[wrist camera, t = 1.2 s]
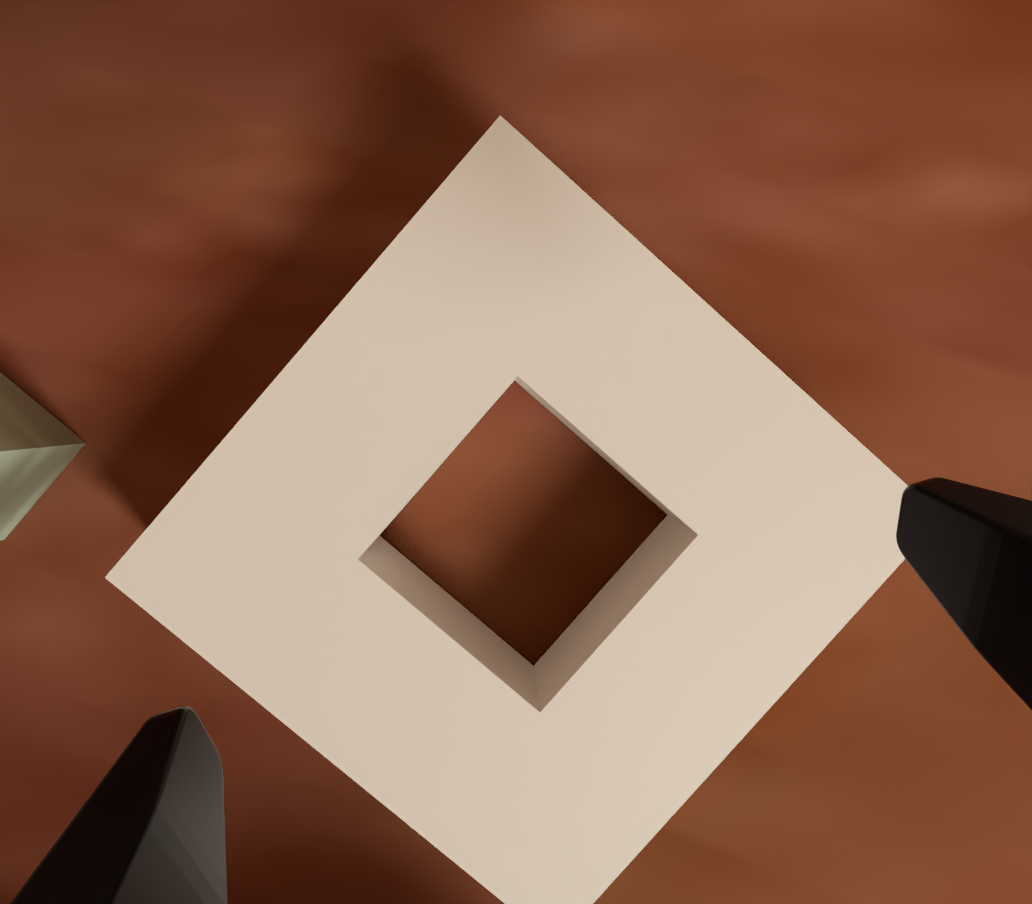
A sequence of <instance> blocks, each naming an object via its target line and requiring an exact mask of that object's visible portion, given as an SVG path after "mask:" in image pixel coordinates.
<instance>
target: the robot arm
mask: <svg viewBox="0 0 1032 904" xmlns="http://www.w3.org/2000/svg"><path fill="white" fill-rule="evenodd" d="M896 540H897V544H898V547H899V549H900V551H901V553H902V555H903V556H904V557H905V559H906V560H907V561H908V563H909V564H910V565H911V567H912V568H913V569H914V570H915V572H916V573H917V574H918V576H919V577H920V578H921V580H922V581H923V582H924V583H925V585H926V586H927V587H928V589H929V590H930V591H931V593H932V594H933V595H934V596H935V598H936V599H937V600H938V602H939V603H940V604H941V606H942V607H943V608H944V610H945V611H946V612H947V613H948V615H949V616H950V617H951V619H952V620H953V621H954V623H955V624H956V625H957V626H958V628H959V629H960V630H961V632H962V633H963V634H964V635H965V637H966V638H967V639H968V640H969V642H970V643H971V644H972V645H973V647H974V648H975V649H976V650H977V651H978V652H979V653H980V655H981V656H982V657H983V658H984V659H985V660H986V661H987V662H988V664H989V665H990V666H991V667H992V668H993V669H994V670H995V671H996V672H997V673H998V674H999V675H1000V677H1001V678H1002V679H1003V680H1004V681H1005V682H1006V683H1007V684H1008V685H1009V686H1010V687H1011V688H1012V689H1013V690H1014V692H1015V693H1016V694H1017V695H1018V696H1019V697H1020V698H1021V699H1022V700H1023V701H1024V702H1025V703H1026V704H1027V706H1028V707H1029V708H1030V709H1031V710H1032V501H1030V500H1026V499H1022V498H1019V497H1015V496H1011V495H1007V494H1003V493H999V492H995V491H991V490H987V489H983V488H980V487H976V486H972V485H968V484H964V483H960V482H956V481H952V480H948V479H944V478H930V479H927V480H924V481H920V482H917V483H914V484H911V485H909V486H907V487H906V489H905V490H904V492H903V494H902V498H901V505H900V511H899V518H898V524H897V531H896ZM10 904H227V873H226V845H225V818H224V791H223V769H222V762H221V758H220V755H219V752H218V750H217V748H216V746H215V745H214V743H213V741H212V740H211V738H210V736H209V734H208V733H207V731H206V729H205V728H204V726H203V724H202V722H201V721H200V719H199V717H198V716H197V714H196V712H195V711H194V710H193V709H192V708H190V707H188V706H182V707H179V708H175V709H172V710H169V711H166V712H162V713H159V714H156V715H154V716H152V717H150V718H149V719H148V720H147V721H146V722H145V723H144V725H143V726H142V727H141V729H140V730H139V731H138V733H137V734H136V735H135V737H134V738H133V739H132V741H131V742H130V743H129V745H128V746H127V747H126V749H125V750H124V751H123V753H122V754H121V755H120V757H119V758H118V760H117V761H116V762H115V764H114V765H113V766H112V768H111V769H110V770H109V772H108V773H107V774H106V776H105V777H104V778H103V780H102V781H101V782H100V784H99V785H98V786H97V788H96V789H95V790H94V792H93V793H92V794H91V796H90V797H89V799H88V800H87V801H86V803H85V804H84V805H83V807H82V808H81V809H80V811H79V812H78V813H77V815H76V816H75V817H74V819H73V820H72V821H71V823H70V824H69V825H68V827H67V828H66V829H65V831H64V832H63V833H62V835H61V836H60V838H59V839H58V840H57V842H56V843H55V844H54V846H53V847H52V848H51V850H50V851H49V852H48V854H47V855H46V856H45V858H44V859H43V860H42V862H41V863H40V864H39V866H38V867H37V868H36V870H35V871H34V873H33V874H32V875H31V877H30V878H29V879H28V881H27V882H26V883H25V885H24V886H23V887H22V889H21V890H20V891H19V893H18V894H17V895H16V897H15V898H14V899H13V901H12V902H11V903H10Z"/></svg>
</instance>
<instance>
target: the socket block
mask: <svg viewBox="0 0 1032 904" xmlns="http://www.w3.org/2000/svg"><path fill="white" fill-rule="evenodd" d="M514 380H515V381H516V382H517V383H518V384H519V385H520V386H522V387H523V388H524V389H525V390H526V391H527V392H528V393H529V394H531V395H532V396H533V397H534V398H535V399H536V400H537V401H539V402H540V403H541V404H542V405H543V406H544V407H545V408H547V409H548V410H549V411H550V412H551V413H552V414H553V415H555V416H556V417H557V418H558V419H559V420H560V421H561V422H562V423H564V424H565V425H566V426H567V427H568V428H569V429H570V430H572V431H573V432H574V433H575V434H576V435H577V436H578V437H580V438H581V439H582V440H583V441H584V442H585V443H586V444H588V445H589V446H590V447H591V448H592V449H593V450H594V451H595V452H597V453H598V454H599V455H600V456H601V457H602V458H603V459H605V460H606V461H607V462H608V463H609V464H610V465H611V466H613V467H614V468H615V469H616V470H617V471H618V472H619V473H621V474H622V475H623V476H624V477H625V478H626V479H627V480H628V481H630V482H631V483H632V484H633V485H634V486H635V487H636V488H638V489H639V490H640V491H641V492H642V493H643V494H644V495H646V496H647V497H648V498H649V499H650V500H651V501H652V502H654V503H655V504H656V505H657V506H658V507H659V508H660V509H661V510H663V511H664V512H665V513H666V514H667V516H666V517H665V518H664V519H663V520H662V522H661V523H660V524H659V525H658V526H657V527H656V528H655V529H654V531H653V532H652V533H651V534H650V535H649V536H648V537H647V539H646V540H645V541H644V542H643V543H642V544H641V545H640V546H639V548H638V549H637V550H636V551H635V552H634V553H633V554H632V555H631V557H630V558H629V559H628V560H627V561H626V562H625V563H624V564H623V566H622V567H621V568H620V569H619V570H618V571H617V572H616V573H615V575H614V576H613V577H612V578H611V579H610V580H609V581H608V582H607V584H606V585H605V586H604V587H603V588H602V589H601V590H600V591H599V593H598V594H597V595H596V596H595V597H594V598H593V599H592V600H591V602H590V603H589V604H588V605H587V606H586V607H585V608H584V610H583V611H582V612H581V613H580V614H579V615H578V616H577V617H576V619H575V620H574V621H573V622H572V623H571V624H570V625H569V626H568V628H567V629H566V630H565V631H564V632H563V633H562V634H561V635H560V637H559V638H558V639H557V640H556V641H555V642H554V643H553V644H552V646H551V647H550V648H549V649H548V650H547V651H546V652H545V653H544V655H543V656H542V657H541V658H540V659H539V660H538V661H537V662H536V664H535V665H534V666H533V665H532V664H531V663H530V662H529V661H527V660H526V659H525V658H524V657H523V656H521V655H520V654H519V653H518V652H517V651H516V650H514V649H513V648H512V647H511V646H510V645H508V644H507V643H506V642H505V641H504V640H503V639H501V638H500V637H499V636H498V635H497V634H495V633H494V632H493V631H492V630H491V629H490V628H488V627H487V626H486V625H485V624H484V623H482V622H481V621H480V620H479V619H478V618H477V617H475V616H474V615H473V614H472V613H471V612H469V611H468V610H467V609H466V608H465V607H464V606H462V605H461V604H460V603H459V602H458V601H456V600H455V599H454V598H453V597H452V596H451V595H449V594H448V593H447V592H446V591H445V590H443V589H442V588H441V587H440V586H439V585H438V584H436V583H435V582H434V581H433V580H432V579H430V578H429V577H428V576H427V575H426V574H425V573H423V572H422V571H421V570H420V569H419V568H417V567H416V566H415V565H414V564H413V563H412V562H410V561H409V560H408V559H407V558H406V557H404V556H403V555H402V554H401V553H400V552H399V551H397V550H396V549H395V548H394V547H393V546H391V545H390V544H389V543H388V542H387V541H386V540H384V539H383V538H382V537H381V536H380V534H381V533H382V532H383V531H384V530H385V528H386V527H387V526H388V525H389V524H390V523H391V521H392V520H393V519H394V518H395V517H396V516H397V515H398V513H399V512H400V511H401V510H402V509H403V508H404V507H405V505H406V504H407V503H408V502H409V501H410V500H411V499H412V497H413V496H414V495H415V494H416V493H417V492H418V490H419V489H420V488H421V487H422V486H423V485H424V484H425V482H426V481H427V480H428V479H429V478H430V477H431V476H432V474H433V473H434V472H435V471H436V470H437V469H438V467H439V466H440V465H441V464H442V463H443V462H444V461H445V459H446V458H447V457H448V456H449V455H450V454H451V453H452V451H453V450H454V449H455V448H456V447H457V446H458V444H459V443H460V442H461V441H462V440H463V439H464V438H465V436H466V435H467V434H468V433H469V432H470V431H471V430H472V428H473V427H474V426H475V425H476V424H477V423H478V422H479V420H480V419H481V418H482V417H483V416H484V415H485V413H486V412H487V411H488V410H489V409H490V408H491V407H492V405H493V404H494V403H495V402H496V401H497V400H498V399H499V397H500V396H501V395H502V394H503V393H504V392H505V390H506V389H507V388H508V387H509V386H510V385H511V384H512V382H513V381H514ZM906 487H907V485H906V484H905V483H904V482H903V481H902V480H901V479H900V478H899V477H898V476H896V475H895V474H894V473H893V472H892V471H891V470H890V469H889V468H888V467H887V466H885V465H884V464H883V463H882V462H881V461H880V460H879V459H878V458H877V457H876V456H874V455H873V454H872V453H871V452H870V451H869V450H868V449H867V448H866V447H865V446H863V445H862V444H861V443H860V442H859V441H858V440H857V439H856V438H855V437H854V436H852V435H851V434H850V433H849V432H848V431H847V430H846V429H845V428H844V427H843V426H841V425H840V424H839V423H838V422H837V421H836V420H835V419H834V418H833V417H832V416H830V415H829V414H828V413H827V412H826V411H825V410H824V409H823V408H822V407H821V406H819V405H818V404H817V403H816V402H815V401H814V400H813V399H812V398H811V397H810V396H808V395H807V394H806V393H805V392H804V391H803V390H802V389H801V388H800V387H799V386H797V385H796V384H795V383H794V382H793V381H792V380H791V379H790V378H789V377H788V376H786V375H785V374H784V373H783V372H782V371H781V370H780V369H779V368H778V367H777V366H775V365H774V364H773V363H772V362H771V361H770V360H769V359H768V358H767V357H766V356H764V355H763V354H762V353H761V352H760V351H759V350H758V349H757V348H756V347H755V346H753V345H752V344H751V343H750V342H749V341H748V340H747V339H746V338H745V337H744V336H742V335H741V334H740V333H739V332H738V331H737V330H736V329H735V328H734V327H733V326H731V325H730V324H729V323H728V322H727V321H726V320H725V319H724V318H723V317H722V316H720V315H719V314H718V313H717V312H716V311H715V310H714V309H713V308H712V307H711V306H709V305H708V304H707V303H706V302H705V301H704V300H703V299H702V298H701V297H700V296H698V295H697V294H696V293H695V292H694V291H693V290H692V289H691V288H690V287H689V286H687V285H686V284H685V283H684V282H683V281H682V280H681V279H680V278H679V277H678V276H676V275H675V274H674V273H673V272H672V271H671V270H670V269H669V268H668V267H667V266H665V265H664V264H663V263H662V262H661V261H660V260H659V259H658V258H657V257H656V256H654V255H653V254H652V253H651V252H650V251H649V250H648V249H647V248H646V247H645V246H643V245H642V244H641V243H640V242H639V241H638V240H637V239H636V238H635V237H634V236H632V235H631V234H630V233H629V232H628V231H627V230H626V229H625V228H624V227H623V226H621V225H620V224H619V223H618V222H617V221H616V220H615V219H614V218H613V217H612V216H610V215H609V214H608V213H607V212H606V211H605V210H604V209H603V208H602V207H601V206H599V205H598V204H597V203H596V202H595V201H594V200H593V199H592V198H591V197H590V196H588V195H587V194H586V193H585V192H584V191H583V190H582V189H581V188H580V187H579V186H577V185H576V184H575V183H574V182H573V181H572V180H571V179H570V178H569V177H568V176H566V175H565V174H564V173H563V172H562V171H561V170H560V169H559V168H558V167H557V166H555V165H554V164H553V163H552V162H551V161H550V160H549V159H548V158H547V157H546V156H544V155H543V154H542V153H541V152H540V151H539V150H538V149H537V148H536V147H535V146H533V145H532V144H531V143H530V142H529V141H528V140H527V139H526V138H525V137H524V136H522V135H521V134H520V133H519V132H518V131H517V130H516V129H515V128H514V127H513V126H511V125H510V124H509V123H508V122H507V121H506V120H505V119H504V118H503V117H502V116H499V117H498V118H497V120H496V121H495V122H494V123H493V124H492V125H491V127H490V128H489V129H488V130H487V131H486V132H485V134H484V135H483V136H482V137H481V138H480V139H479V141H478V142H477V143H476V144H475V145H474V146H473V148H472V149H471V150H470V151H469V152H468V154H467V155H466V156H465V157H464V158H463V159H462V161H461V162H460V163H459V164H458V165H457V166H456V168H455V169H454V170H453V171H452V172H451V173H450V175H449V176H448V177H447V178H446V179H445V180H444V182H443V183H442V184H441V185H440V186H439V187H438V189H437V190H436V191H435V192H434V193H433V194H432V196H431V197H430V198H429V199H428V200H427V201H426V203H425V204H424V205H423V206H422V207H421V208H420V210H419V211H418V212H417V213H416V214H415V215H414V217H413V218H412V219H411V220H410V221H409V222H408V224H407V225H406V226H405V227H404V228H403V230H402V231H401V232H400V233H399V234H398V235H397V237H396V238H395V239H394V240H393V241H392V242H391V244H390V245H389V246H388V247H387V248H386V249H385V251H384V252H383V253H382V254H381V255H380V256H379V258H378V259H377V260H376V261H375V262H374V263H373V265H372V266H371V267H370V268H369V269H368V270H367V272H366V273H365V274H364V275H363V276H362V277H361V279H360V280H359V281H358V282H357V283H356V284H355V286H354V287H353V288H352V289H351V290H350V291H349V293H348V294H347V295H346V296H345V297H344V299H343V300H342V301H341V302H340V303H339V304H338V306H337V307H336V308H335V309H334V310H333V311H332V313H331V314H330V315H329V316H328V317H327V318H326V320H325V321H324V322H323V323H322V324H321V325H320V327H319V328H318V329H317V330H316V331H315V332H314V334H313V335H312V336H311V337H310V338H309V339H308V341H307V342H306V343H305V344H304V345H303V346H302V348H301V349H300V350H299V351H298V352H297V353H296V355H295V356H294V357H293V358H292V359H291V360H290V362H289V363H288V364H287V365H286V366H285V367H284V369H283V370H282V371H281V372H280V373H279V375H278V376H277V377H276V378H275V379H274V380H273V382H272V383H271V384H270V385H269V386H268V387H267V389H266V390H265V391H264V392H263V393H262V394H261V396H260V397H259V398H258V399H257V400H256V401H255V403H254V404H253V405H252V406H251V407H250V408H249V410H248V411H247V412H246V413H245V414H244V415H243V417H242V418H241V419H240V420H239V421H238V422H237V424H236V425H235V426H234V427H233V428H232V429H231V431H230V432H229V433H228V434H227V435H226V436H225V438H224V439H223V440H222V441H221V442H220V444H219V445H218V446H217V447H216V448H215V449H214V451H213V452H212V453H211V454H210V455H209V456H208V458H207V459H206V460H205V461H204V462H203V463H202V465H201V466H200V467H199V468H198V469H197V470H196V472H195V473H194V474H193V475H192V476H191V477H190V479H189V480H188V481H187V482H186V483H185V484H184V486H183V487H182V488H181V489H180V490H179V491H178V493H177V494H176V495H175V496H174V497H173V498H172V500H171V501H170V502H169V503H168V504H167V505H166V507H165V508H164V509H163V510H162V511H161V512H160V514H159V515H158V516H157V517H156V518H155V520H154V521H153V522H152V523H151V524H150V525H149V527H148V528H147V529H146V530H145V531H144V532H143V534H142V535H141V536H140V537H139V538H138V539H137V541H136V542H135V543H134V544H133V545H132V546H131V548H130V549H129V550H128V551H127V552H126V553H125V555H124V556H123V557H122V558H121V559H120V560H119V562H118V563H117V564H116V565H115V566H114V567H113V569H112V570H111V571H110V572H109V573H108V574H107V576H106V577H105V578H106V579H107V580H108V581H110V582H111V583H112V584H113V585H115V586H116V587H117V588H118V589H120V590H121V591H122V592H123V593H124V594H126V595H127V596H128V597H129V598H131V599H132V600H133V601H134V602H135V603H137V604H138V605H139V606H140V607H142V608H143V609H144V610H145V611H146V612H148V613H149V614H150V615H151V616H153V617H154V618H155V619H156V620H158V621H159V622H160V623H161V624H162V625H164V626H165V627H166V628H167V629H169V630H170V631H171V632H172V633H173V634H175V635H176V636H177V637H178V638H180V639H181V640H182V641H183V642H185V643H186V644H187V645H188V646H189V647H191V648H192V649H193V650H194V651H196V652H197V653H198V654H199V655H200V656H202V657H203V658H204V659H205V660H207V661H208V662H209V663H210V664H212V665H213V666H214V667H215V668H216V669H218V670H219V671H220V672H221V673H223V674H224V675H225V676H226V677H227V678H229V679H230V680H231V681H232V682H234V683H235V684H236V685H237V686H239V687H240V688H241V689H242V690H243V691H245V692H246V693H247V694H248V695H250V696H251V697H252V698H253V699H254V700H256V701H257V702H258V703H259V704H261V705H262V706H263V707H264V708H265V709H267V710H268V711H269V712H270V713H272V714H273V715H274V716H275V717H277V718H278V719H279V720H280V721H281V722H283V723H284V724H285V725H286V726H288V727H289V728H290V729H291V730H292V731H294V732H295V733H296V734H297V735H299V736H300V737H301V738H302V739H304V740H305V741H306V742H307V743H308V744H310V745H311V746H312V747H313V748H315V749H316V750H317V751H318V752H319V753H321V754H322V755H323V756H324V757H326V758H327V759H328V760H329V761H331V762H332V763H333V764H334V765H335V766H337V767H338V768H339V769H340V770H342V771H343V772H344V773H345V774H346V775H348V776H349V777H350V778H351V779H353V780H354V781H355V782H356V783H357V784H359V785H360V786H361V787H362V788H364V789H365V790H366V791H367V792H369V793H370V794H371V795H372V796H373V797H375V798H376V799H377V800H378V801H380V802H381V803H382V804H383V805H384V806H386V807H387V808H388V809H389V810H391V811H392V812H393V813H394V814H396V815H397V816H398V817H399V818H400V819H402V820H403V821H404V822H405V823H407V824H408V825H409V826H410V827H411V828H413V829H414V830H415V831H416V832H418V833H419V834H420V835H421V836H423V837H424V838H425V839H426V840H427V841H429V842H430V843H431V844H432V845H434V846H435V847H436V848H437V849H438V850H440V851H441V852H442V853H443V854H445V855H446V856H447V857H448V858H450V859H451V860H452V861H453V862H454V863H456V864H457V865H458V866H459V867H461V868H462V869H463V870H464V871H465V872H467V873H468V874H469V875H470V876H472V877H473V878H474V879H475V880H476V881H478V882H479V883H480V884H481V885H483V886H484V887H485V888H486V889H488V890H489V891H490V892H491V893H492V894H494V895H495V896H496V897H497V898H499V899H500V900H501V901H502V902H503V903H505V904H593V903H594V902H595V901H596V900H597V899H598V898H599V896H600V895H601V894H602V893H603V892H604V891H605V890H606V889H607V888H608V887H609V885H610V884H611V883H612V882H613V881H614V880H615V879H616V878H617V877H618V875H619V874H620V873H621V872H622V871H623V870H624V869H625V868H626V867H627V866H628V864H629V863H630V862H631V861H632V860H633V859H634V858H635V857H636V856H637V854H638V853H639V852H640V851H641V850H642V849H643V848H644V847H645V846H646V845H647V843H648V842H649V841H650V840H651V839H652V838H653V837H654V836H655V835H656V833H657V832H658V831H659V830H660V829H661V828H662V827H663V826H664V825H665V824H666V822H667V821H668V820H669V819H670V818H671V817H672V816H673V815H674V814H675V812H676V811H677V810H678V809H679V808H680V807H681V806H682V805H683V804H684V803H685V801H686V800H687V799H688V798H689V797H690V796H691V795H692V794H693V793H694V791H695V790H696V789H697V788H698V787H699V786H700V785H701V784H702V783H703V782H704V780H705V779H706V778H707V777H708V776H709V775H710V774H711V773H712V772H713V770H714V769H715V768H716V767H717V766H718V765H719V764H720V763H721V762H722V761H723V759H724V758H725V757H726V756H727V755H728V754H729V753H730V752H731V751H732V749H733V748H734V747H735V746H736V745H737V744H738V743H739V742H740V741H741V740H742V738H743V737H744V736H745V735H746V734H747V733H748V732H749V731H750V730H751V728H752V727H753V726H754V725H755V724H756V723H757V722H758V721H759V720H760V719H761V717H762V716H763V715H764V714H765V713H766V712H767V711H768V710H769V709H770V707H771V706H772V705H773V704H774V703H775V702H776V701H777V700H778V699H779V698H780V696H781V695H782V694H783V693H784V692H785V691H786V690H787V689H788V688H789V686H790V685H791V684H792V683H793V682H794V681H795V680H796V679H797V678H798V677H799V675H800V674H801V673H802V672H803V671H804V670H805V669H806V668H807V667H808V665H809V664H810V663H811V662H812V661H813V660H814V659H815V658H816V657H817V656H818V654H819V653H820V652H821V651H822V650H823V649H824V648H825V647H826V646H827V644H828V643H829V642H830V641H831V640H832V639H833V638H834V637H835V636H836V635H837V633H838V632H839V631H840V630H841V629H842V628H843V627H844V626H845V625H846V623H847V622H848V621H849V620H850V619H851V618H852V617H853V616H854V615H855V614H856V612H857V611H858V610H859V609H860V608H861V607H862V606H863V605H864V604H865V602H866V601H867V600H868V599H869V598H870V597H871V596H872V595H873V594H874V593H875V591H876V590H877V589H878V588H879V587H880V586H881V585H882V584H883V583H884V581H885V580H886V579H887V578H888V577H889V576H890V575H891V574H892V573H893V572H894V570H895V569H896V568H897V567H898V566H899V565H900V564H901V563H902V562H903V560H904V559H905V557H904V556H903V555H902V553H901V551H900V549H899V547H898V544H897V540H896V531H897V524H898V518H899V511H900V505H901V498H902V494H903V492H904V490H905V489H906Z"/></svg>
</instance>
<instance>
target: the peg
mask: <svg viewBox="0 0 1032 904" xmlns="http://www.w3.org/2000/svg"><path fill="white" fill-rule="evenodd" d="M85 444H86V443H85V442H84V441H83V440H82V439H80V438H79V437H78V436H77V435H76V434H74V433H73V432H72V431H71V430H70V429H68V428H67V427H66V426H65V425H63V424H62V423H61V422H60V421H59V420H57V419H56V418H55V417H54V416H53V415H51V414H50V413H49V412H48V411H47V410H45V409H44V408H43V407H42V406H41V405H39V404H38V403H37V402H36V401H35V400H33V399H32V398H31V397H30V396H28V395H27V394H26V393H25V392H24V391H22V390H21V389H20V388H19V387H18V386H16V385H15V384H14V383H13V382H12V381H10V380H9V379H8V378H7V377H6V376H4V375H3V374H2V373H1V372H0V541H1V540H4V539H5V538H6V537H7V536H8V535H9V534H10V532H11V531H12V530H13V529H14V528H15V527H16V525H17V524H18V523H19V522H20V521H21V519H22V518H23V517H24V516H25V515H26V514H27V512H28V511H29V510H30V509H31V508H32V506H33V505H34V504H35V503H36V502H37V501H38V499H39V498H40V497H41V496H42V495H43V493H44V492H45V491H46V490H47V489H48V488H49V486H50V485H51V484H52V483H53V482H54V480H55V479H56V478H57V477H58V476H59V475H60V473H61V472H62V471H63V470H64V469H65V467H66V466H67V465H68V464H69V463H70V462H71V460H72V459H73V458H74V457H75V456H76V454H77V453H78V452H79V451H80V450H81V449H82V447H83V446H84V445H85Z"/></svg>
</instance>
